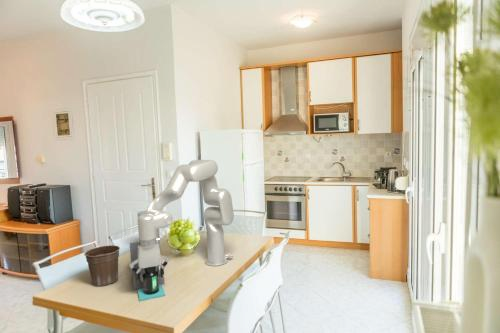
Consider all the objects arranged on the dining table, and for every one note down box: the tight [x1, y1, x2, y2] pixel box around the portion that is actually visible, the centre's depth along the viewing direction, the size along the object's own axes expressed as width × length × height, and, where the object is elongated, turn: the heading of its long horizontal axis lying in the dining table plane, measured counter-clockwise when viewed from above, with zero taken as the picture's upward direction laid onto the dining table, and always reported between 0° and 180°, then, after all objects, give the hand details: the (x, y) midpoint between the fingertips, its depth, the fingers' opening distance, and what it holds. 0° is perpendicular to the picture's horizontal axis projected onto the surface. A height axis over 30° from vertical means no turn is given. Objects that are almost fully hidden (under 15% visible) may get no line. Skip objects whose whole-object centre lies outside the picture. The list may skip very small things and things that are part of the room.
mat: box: [137, 284, 166, 302], centre depth 152 cm, size 11×11×1 cm
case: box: [129, 241, 165, 290], centre depth 168 cm, size 14×20×17 cm
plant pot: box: [83, 245, 121, 287], centre depth 167 cm, size 16×16×16 cm
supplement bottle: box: [142, 266, 160, 295], centre depth 152 cm, size 7×7×12 cm
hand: (150, 278), depth 152 cm, fingers open, 9 cm apart
